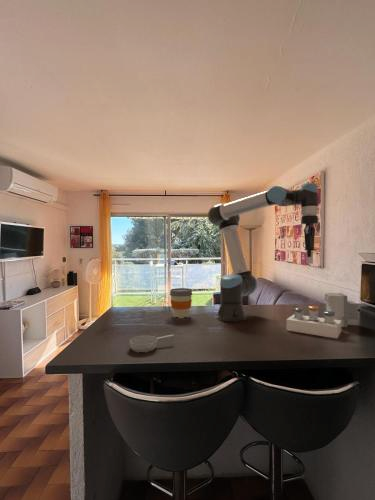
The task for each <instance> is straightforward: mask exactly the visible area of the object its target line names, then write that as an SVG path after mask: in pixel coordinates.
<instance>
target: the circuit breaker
mask: <svg viewBox="0 0 375 500" xmlns="http://www.w3.org/2000/svg"><path fill="white" fill-rule="evenodd" d="M324 302H325V304H326V311H332V312H335V315H334V320H341V328H348V325H349V323H348V320H357V321H358V319H359V318H358V317H359V315H358V313H359V312H361V309H360V308H358V303H356V302H354V301H352V300H348V295H347V294H344V293H343V292H341V293H340V292H325V293H324Z"/></svg>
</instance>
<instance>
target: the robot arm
mask: <svg viewBox="0 0 375 500" xmlns="http://www.w3.org/2000/svg"><path fill="white" fill-rule="evenodd" d="M274 205H277V206H279V207H289V206H297V205H300V207H301V209H300V213H301V214H300V215H301V217H300V221H301V224H302V225H305V226H304V229H303V234H304V251H305V252H306V257H305V258H306V264H307V265H310V264H311V265H313V264H314V251H315V236H316V235H315V234H316V230H315V229H316V227H315V226H314V224H315V225H317V224H318V223H319V215H318V214H319V213H318V212H319V210H320V208H319V207H318V206H319V191H318V184H317V183H314V182H310V183H308V182H307V183H304V184H302V185H301V186H300V188H299V189H293V190H290V189H288V188H287V189H286V188H285V187H282V186H278V185H274V186H272V187H270V188H269V189H268V190H265V191H263V192H259V193H256V194H253V195H250V196H247V197H244V198H240V199H237V200H234V201H231V202H228V203H224V202H222V203H219V204H218V203H217V204H215V205H213V206H211V207H210V208H209V209H208V210H209V211H208V212H207V218H208V220H209V223H210V224H212V225H215V226H218V229H219V232H220V233H222V234H223V237H224V241H225V245H226V250H227V253H228V257H229V262H230V266H231V270H232V273H231V274H226V275H223V276H221V278H220V282H219V287H220V288H219V289H220V291H219V292H220V293H219V294H220V305H219V309H218V310H217V311H218V312H217V320H219V321H223V322H231V323H234V322H235V323H236V322H237V323H238V322H243V321H245V320H246V318H247V317H246V312H245V309H244V306H243V297H245V296H249V295H252V294H254V292H256V291H257V288H258V280H257V278H256V277H255V276H254V275H253V274H252V271H251V269H249V268H248V266H247V262H246V258H245V255H244V251H243V246H242V243H241V240H240V236H239V233H238V232H239V231H238V229H239V227H240V225H239V221H240V218H241V217H240V215H243V214H246V213H249V212H254V211H256V210H259V209H263V208H267V207H271V206H274Z"/></svg>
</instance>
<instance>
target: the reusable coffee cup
mask: <svg viewBox="0 0 375 500" xmlns="http://www.w3.org/2000/svg"><path fill="white" fill-rule="evenodd" d="M192 295H193V290H192V288H188V287H187V288H186V287H179V288H178V287H177V288H172V289H170V291H169V296H170V306H171V309H172V316H173V318H175V317H178V318H177V319H185V318H184V317H187V318H189V317H190V312H191V308H192V300H193V299H192ZM188 316H189V317H188Z"/></svg>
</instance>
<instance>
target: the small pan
mask: <svg viewBox="0 0 375 500" xmlns="http://www.w3.org/2000/svg"><path fill="white" fill-rule="evenodd" d="M171 337H175V334H174V333H173V334H169V335H168V334H167V335H163V336H159V337H156V336H154V335H138V336H134V337H132V338H131V339H129V346H130V349H132V351H133V352H135V353H139V352H145V353H150V352H152V351H154V350H155V349H156V347H157V345H158V340H163V339H166V338H171ZM149 351H150V352H149Z"/></svg>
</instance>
